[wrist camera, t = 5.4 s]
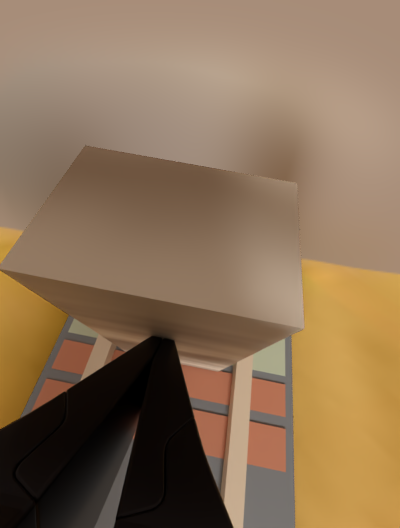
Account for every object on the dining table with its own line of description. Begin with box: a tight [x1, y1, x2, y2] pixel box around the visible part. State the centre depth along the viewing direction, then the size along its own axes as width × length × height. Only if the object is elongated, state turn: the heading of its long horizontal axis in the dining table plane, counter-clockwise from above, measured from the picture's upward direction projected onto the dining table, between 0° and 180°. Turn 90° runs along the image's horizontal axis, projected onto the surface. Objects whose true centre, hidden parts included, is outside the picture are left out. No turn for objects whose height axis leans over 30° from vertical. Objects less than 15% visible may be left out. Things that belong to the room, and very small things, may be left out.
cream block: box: [0, 146, 304, 372], centre depth 11 cm, size 4×6×12 cm, turn 80°
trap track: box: [20, 315, 295, 528], centre depth 11 cm, size 24×16×3 cm
